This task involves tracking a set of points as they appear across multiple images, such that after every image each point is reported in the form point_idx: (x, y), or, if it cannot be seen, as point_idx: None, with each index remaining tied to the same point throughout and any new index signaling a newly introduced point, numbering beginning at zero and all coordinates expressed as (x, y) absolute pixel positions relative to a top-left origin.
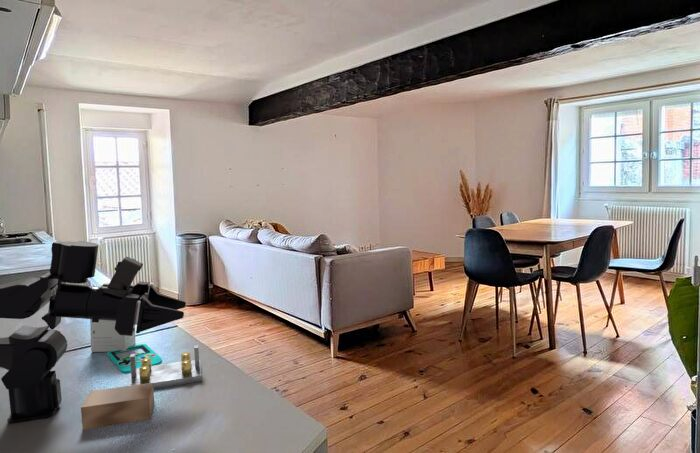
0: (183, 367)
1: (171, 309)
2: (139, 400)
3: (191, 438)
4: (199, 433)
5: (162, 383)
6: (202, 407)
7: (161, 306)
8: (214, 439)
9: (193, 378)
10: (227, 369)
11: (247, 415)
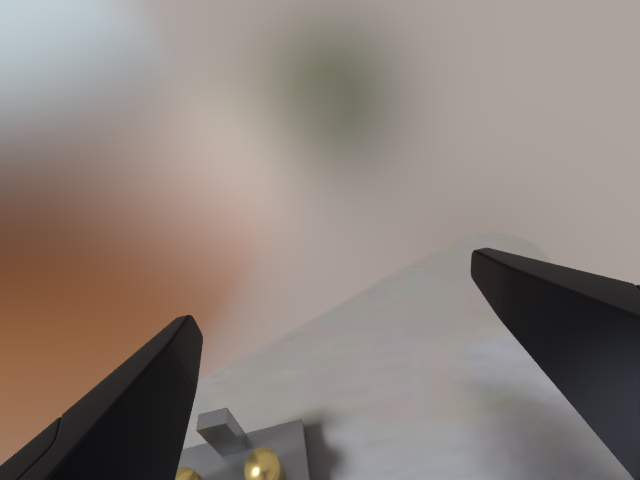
0: (277, 478)
1: (556, 268)
2: None
3: None
4: None
5: None
6: (453, 394)
7: (623, 307)
8: None
9: (305, 447)
10: (249, 368)
11: (469, 304)
